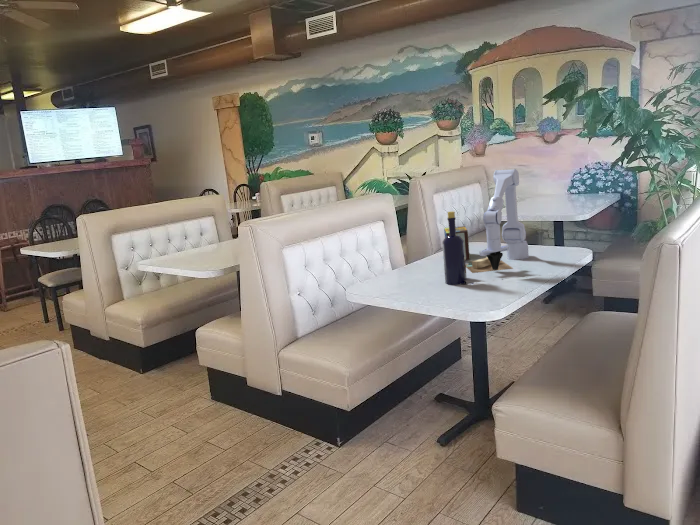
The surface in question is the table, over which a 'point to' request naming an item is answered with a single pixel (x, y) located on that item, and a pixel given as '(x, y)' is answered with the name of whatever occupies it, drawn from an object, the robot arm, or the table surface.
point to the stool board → (489, 267)
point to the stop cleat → (471, 261)
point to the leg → (481, 263)
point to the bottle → (454, 255)
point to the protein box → (464, 235)
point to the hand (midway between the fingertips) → (495, 269)
